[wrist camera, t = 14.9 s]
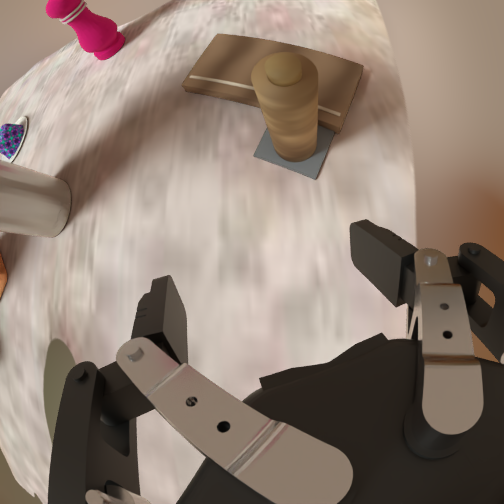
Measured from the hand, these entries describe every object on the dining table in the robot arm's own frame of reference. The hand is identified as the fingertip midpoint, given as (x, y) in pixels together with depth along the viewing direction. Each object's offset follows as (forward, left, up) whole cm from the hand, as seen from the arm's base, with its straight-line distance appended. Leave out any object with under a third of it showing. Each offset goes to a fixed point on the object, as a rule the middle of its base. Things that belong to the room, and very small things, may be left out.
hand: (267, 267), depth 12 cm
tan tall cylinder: (-5, +12, -16) cm, 20 cm away
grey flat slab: (-5, +12, -16) cm, 21 cm away
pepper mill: (-44, +23, -16) cm, 52 cm away
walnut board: (-11, +20, -16) cm, 28 cm away
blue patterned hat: (-64, 0, -17) cm, 66 cm away
